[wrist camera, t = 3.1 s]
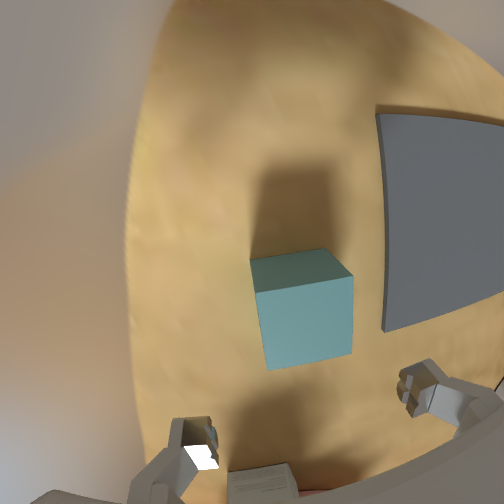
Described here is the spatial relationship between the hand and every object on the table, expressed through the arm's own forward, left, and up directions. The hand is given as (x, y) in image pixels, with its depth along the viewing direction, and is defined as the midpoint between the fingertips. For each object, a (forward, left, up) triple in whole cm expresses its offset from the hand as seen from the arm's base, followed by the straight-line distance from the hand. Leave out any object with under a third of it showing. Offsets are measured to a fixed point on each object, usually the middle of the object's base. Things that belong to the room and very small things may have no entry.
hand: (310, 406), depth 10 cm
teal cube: (-1, -1, -10) cm, 10 cm away
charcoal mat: (-16, -4, -10) cm, 19 cm away
